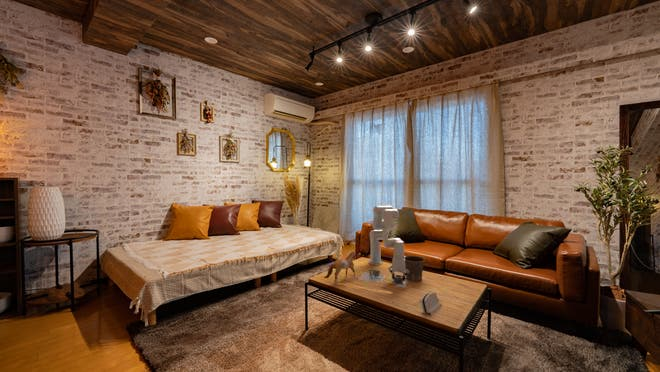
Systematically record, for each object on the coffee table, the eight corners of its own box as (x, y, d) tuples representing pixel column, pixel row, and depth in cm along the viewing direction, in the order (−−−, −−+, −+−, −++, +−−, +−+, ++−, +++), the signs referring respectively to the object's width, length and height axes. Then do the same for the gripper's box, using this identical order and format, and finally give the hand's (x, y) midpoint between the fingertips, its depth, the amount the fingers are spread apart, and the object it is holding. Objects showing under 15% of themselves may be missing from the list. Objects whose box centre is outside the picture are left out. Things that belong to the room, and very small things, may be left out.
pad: (392, 280, 214) (392, 279, 214) (407, 282, 209) (407, 281, 209) (389, 285, 204) (389, 284, 204) (404, 287, 199) (404, 286, 199)
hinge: (431, 315, 159) (425, 298, 162) (423, 315, 163) (418, 298, 165) (442, 305, 172) (437, 289, 174) (435, 306, 175) (430, 290, 177)
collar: (395, 280, 211) (395, 274, 210) (403, 282, 208) (403, 275, 208) (393, 283, 205) (393, 277, 205) (401, 284, 203) (401, 278, 202)
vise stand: (364, 273, 228) (364, 266, 228) (385, 276, 221) (385, 269, 220) (357, 281, 212) (357, 273, 212) (380, 285, 204) (380, 277, 204)
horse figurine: (354, 275, 224) (354, 250, 223) (360, 278, 217) (360, 253, 217) (323, 284, 205) (323, 257, 205) (329, 287, 199) (329, 260, 198)
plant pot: (404, 281, 211) (404, 261, 210) (402, 274, 227) (402, 255, 226) (426, 283, 208) (426, 262, 207) (422, 275, 224) (422, 256, 223)
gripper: (411, 256, 206) (411, 280, 206) (388, 254, 213) (388, 276, 214) (409, 259, 199) (409, 283, 199) (386, 256, 206) (386, 279, 207)
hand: (398, 279), depth 206 cm, fingers open, 7 cm apart
